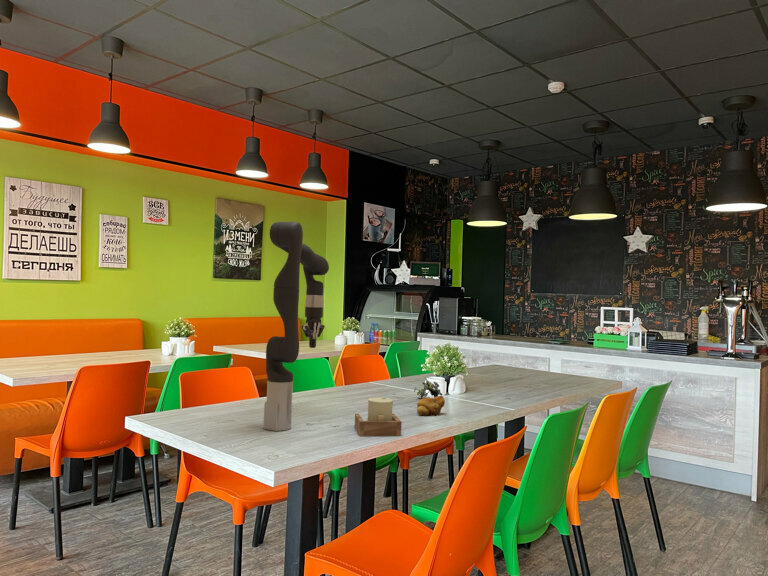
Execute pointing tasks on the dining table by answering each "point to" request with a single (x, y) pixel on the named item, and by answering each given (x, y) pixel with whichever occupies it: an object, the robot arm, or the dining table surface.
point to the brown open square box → (378, 426)
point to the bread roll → (430, 405)
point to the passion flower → (431, 387)
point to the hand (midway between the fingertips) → (312, 347)
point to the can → (380, 408)
